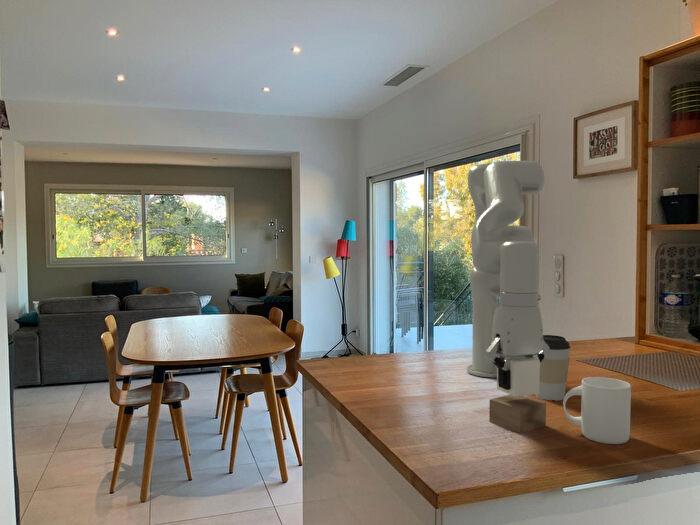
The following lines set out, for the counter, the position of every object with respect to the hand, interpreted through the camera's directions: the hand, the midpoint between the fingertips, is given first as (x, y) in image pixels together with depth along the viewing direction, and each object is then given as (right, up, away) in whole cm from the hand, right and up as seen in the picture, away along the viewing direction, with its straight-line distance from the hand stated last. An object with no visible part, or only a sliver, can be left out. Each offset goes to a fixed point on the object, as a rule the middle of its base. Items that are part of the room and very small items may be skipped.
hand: (517, 385), depth 110 cm
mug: (+13, -8, -6) cm, 17 cm away
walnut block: (0, -8, 0) cm, 8 cm away
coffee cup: (+14, -7, +20) cm, 25 cm away
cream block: (0, -1, 0) cm, 1 cm away
